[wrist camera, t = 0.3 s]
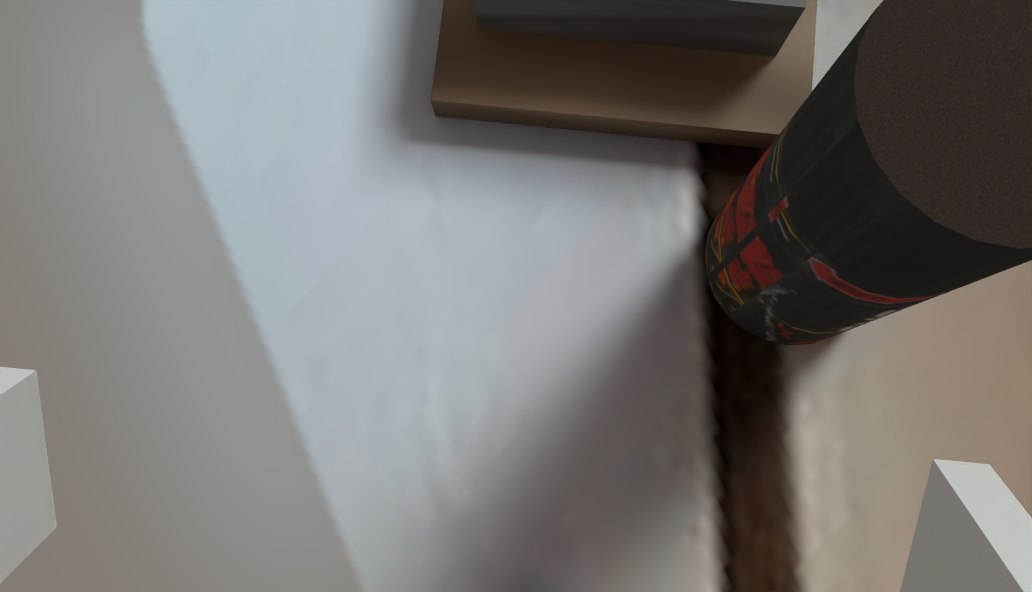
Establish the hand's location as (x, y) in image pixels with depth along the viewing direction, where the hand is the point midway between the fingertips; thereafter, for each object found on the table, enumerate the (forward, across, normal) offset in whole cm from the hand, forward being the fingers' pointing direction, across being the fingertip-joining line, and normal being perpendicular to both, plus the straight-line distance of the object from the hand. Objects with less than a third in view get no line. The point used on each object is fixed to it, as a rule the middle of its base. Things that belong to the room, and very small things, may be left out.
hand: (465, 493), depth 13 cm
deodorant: (+20, -9, +2) cm, 21 cm away
